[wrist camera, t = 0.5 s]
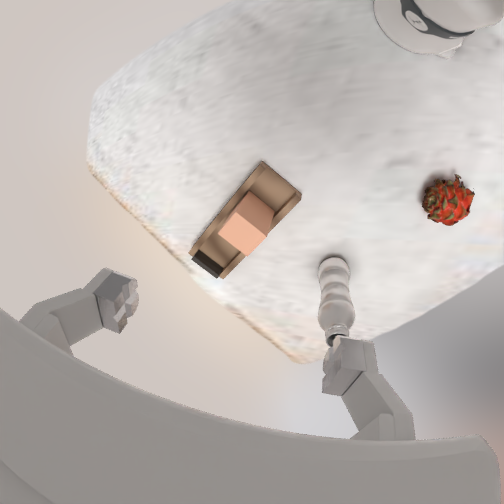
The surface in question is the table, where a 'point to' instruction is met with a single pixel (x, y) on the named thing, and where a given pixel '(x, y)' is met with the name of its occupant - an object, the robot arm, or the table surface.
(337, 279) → the plastic bottle
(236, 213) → the block
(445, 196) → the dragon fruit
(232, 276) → the table surface
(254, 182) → the chute
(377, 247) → the table surface
